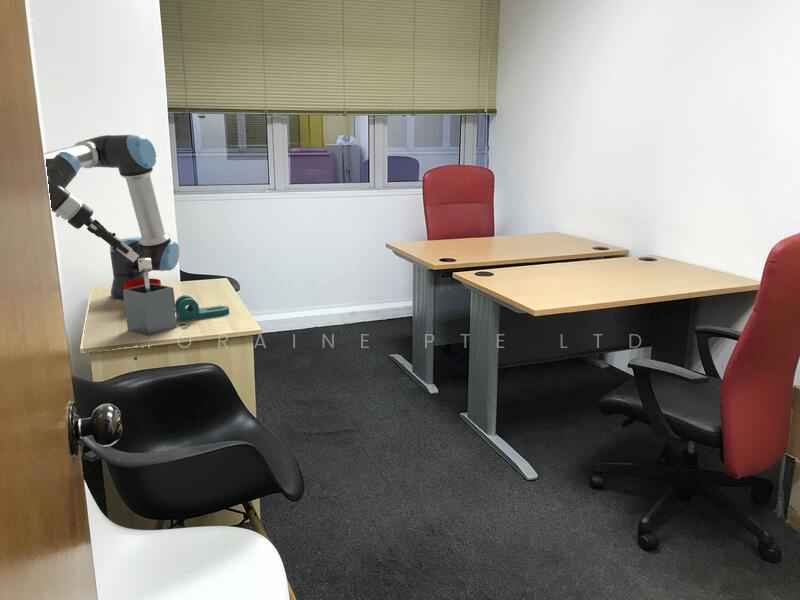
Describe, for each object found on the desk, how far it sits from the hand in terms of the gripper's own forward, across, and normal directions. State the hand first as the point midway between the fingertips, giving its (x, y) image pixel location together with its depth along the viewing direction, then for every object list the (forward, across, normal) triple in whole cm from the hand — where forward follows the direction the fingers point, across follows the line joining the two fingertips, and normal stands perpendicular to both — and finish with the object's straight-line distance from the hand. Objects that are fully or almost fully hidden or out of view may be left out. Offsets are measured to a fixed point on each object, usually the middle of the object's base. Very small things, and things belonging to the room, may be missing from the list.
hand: (132, 255), depth 204 cm
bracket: (+34, -7, -3) cm, 35 cm away
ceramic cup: (+24, -28, -13) cm, 39 cm away
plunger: (+16, -1, -11) cm, 19 cm away
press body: (+22, -1, -15) cm, 26 cm away
